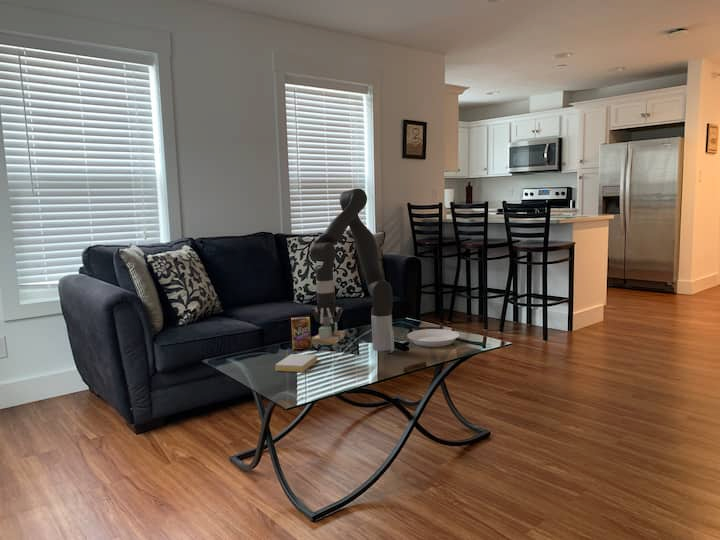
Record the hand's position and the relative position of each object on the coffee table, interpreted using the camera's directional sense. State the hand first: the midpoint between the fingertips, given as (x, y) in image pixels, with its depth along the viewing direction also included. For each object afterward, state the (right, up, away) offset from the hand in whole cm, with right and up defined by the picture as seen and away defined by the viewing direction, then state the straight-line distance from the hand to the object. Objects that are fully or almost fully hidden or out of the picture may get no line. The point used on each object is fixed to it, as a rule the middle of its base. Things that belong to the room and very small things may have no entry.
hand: (328, 331), depth 231 cm
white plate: (+49, -9, +37) cm, 62 cm away
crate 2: (+1, -1, +4) cm, 4 cm away
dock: (-13, -16, +3) cm, 21 cm away
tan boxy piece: (0, -3, 0) cm, 3 cm away
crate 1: (-1, -2, -3) cm, 4 cm away
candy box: (-15, -12, +35) cm, 40 cm away
